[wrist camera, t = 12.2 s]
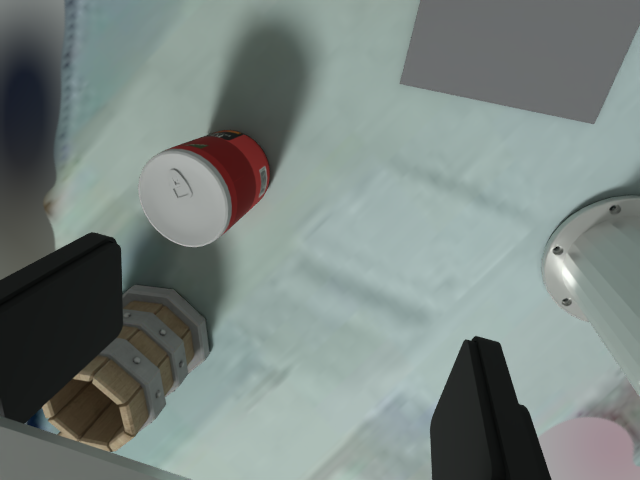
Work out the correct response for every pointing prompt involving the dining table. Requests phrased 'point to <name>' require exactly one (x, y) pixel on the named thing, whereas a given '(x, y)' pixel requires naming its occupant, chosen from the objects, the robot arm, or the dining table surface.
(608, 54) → the mat
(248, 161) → the canned food
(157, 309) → the tankard
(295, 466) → the dining table surface
